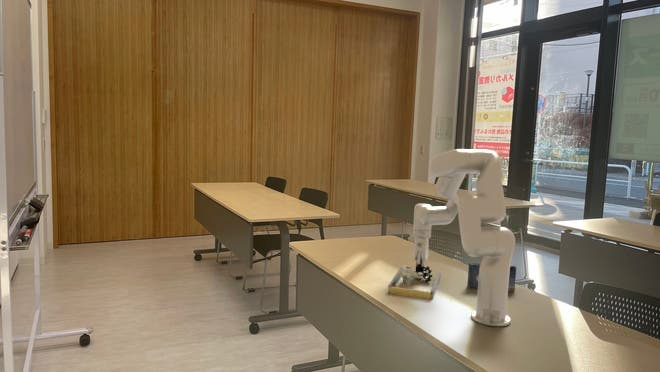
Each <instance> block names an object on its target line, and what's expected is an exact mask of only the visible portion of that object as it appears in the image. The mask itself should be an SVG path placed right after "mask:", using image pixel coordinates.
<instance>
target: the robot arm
mask: <svg viewBox="0 0 660 372" xmlns="http://www.w3.org/2000/svg"><path fill="white" fill-rule="evenodd" d="M429 169H430V173H431V176H434V177H435V178H437V181H436V183H435V190H436V192H437V194H439V195H440V196H442V197H444V198H446V199H448V200H447V203H446V204H445V205H444V206H443V205H439V206H437V205H436V206H435V205H433V206H432V204H430V203H416V204H415V206H414V209H413V210H414V212H413V225H412V227H413V228H412V237H414V238H415V239H414V252H413V255H414V256H413V259H414V261H415V263H416V264H415V271H416V272H417V273H418V272H421V273H422V271H423V270H425V269H424V267H425V266H424V265H425V262H426V261H427V260H428V258H429V242H430V241H429V240H430V238H432V226H440V225H441V226H442V225H443V226H444V225H449V224H451V223H452V222H454V219H456V216H457V215H458V216H457V217H458V223H459V232H460V233H459V234H460V239H461V240H460V241H461V246H462V249H463V252H464V253H465V254H466V255H467V256H469V257H471V258H482V260H481V262H480V263H479V264H480V269H479V282H478V289H477V295H476V296H477V298H476V309H475V310H473V311H472V312H471V315H470V317H471V319H472V320H474V321H475V322H477V323H479V324H482V325H485V326H491V327H505V326H509V325H510V324H511V317H510V316H509V315H508V314H507V306H508V297H509V296H508V295H509V293H508V292H509V291H508V284H509V273H510V266H511V263H512V258H513V255H514V252H515V248H516V236H515V234H514V233H513V232H512V230H510V229H509V228H507V227H504V226H483V227H481V225H482V224H492V223H494V224H495V223H500V222H502V221H504V220H505V218H506V215H507V213H506V212H507V209H506V207H507V206H506V202H505V193H504V186H503V181H502V180H503V179H502V177H503V175H502V174H503V163H502V159H501V157H500V155H499V154H498V153H497V152H496V151H493V150H490V149H476V148H475V149H474V148H473V149H471V148H469V149H468V148H467V149H466V148H457V149H455V148H453V149H450V150H447V151H444V152H441V153H438V154H436V155H435V156H434V157H433V158H432V159H431V161H430V165H429ZM469 174H478V175H477V178H476V181H475V189H476V194H467V195H465V196H463V197H462V198H461V199H459V195H458V193H457V192H458V191H459V188H460V187H461V185H462V183H463V181H464V179H465V177H466V175H469Z"/></svg>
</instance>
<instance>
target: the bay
mask: <svg viewBox="0 0 660 372" xmlns="http://www.w3.org/2000/svg"><path fill="white" fill-rule="evenodd" d="M403 267H404V266H402V267H400V268H399V269H398V271H397V272H396V274H395V275H394V277H393V278H392V280H391V281H390V282H389V284H388V285H387V294H391V295H396V296H397V295H398V296H404V297H411V298H418V299H427V300H433V299H434V297H435V295H436V291H437V289H438V286H439V283H440V280H441V273H442V272H441V271H438V272H437V274H436V276H435V279H434V282H433V285H432V287H431V289H430V291H425V290H419V289H413V288H412V289H410V288H404V287H397V284H398V282H399V281H400V279H401V278H402V273H403ZM433 301H434V300H433Z"/></svg>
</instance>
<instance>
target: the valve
mask: <svg viewBox="0 0 660 372" xmlns="http://www.w3.org/2000/svg"><path fill="white" fill-rule="evenodd" d="M402 267H403V273H402V276H401V278H402V284H404V285H411V284H412V279H417V277H418V278H419V277H422V278H423V279H424V280H425V282H431V281H432V279H431V278H432V277H433V274H432V272H433V270H432V269H431V268H430V266H429V265H427V266H424V270H423V271H422V273H421V272H418V273H417V272H416V270H412V268H413V267H412V266H406V265H405V266H402Z"/></svg>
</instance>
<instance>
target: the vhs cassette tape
mask: <svg viewBox="0 0 660 372" xmlns="http://www.w3.org/2000/svg"><path fill="white" fill-rule="evenodd" d="M480 264H481V263H475V262H474V263H473V262H468V272H467V282H466V283H467V284H466V285H467V288H468V289H471V290H478V282H479V269H480ZM516 275H517V267H516V266H515V265H510V273H509V284H508V292H515V289H516V277H517V276H516Z"/></svg>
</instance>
